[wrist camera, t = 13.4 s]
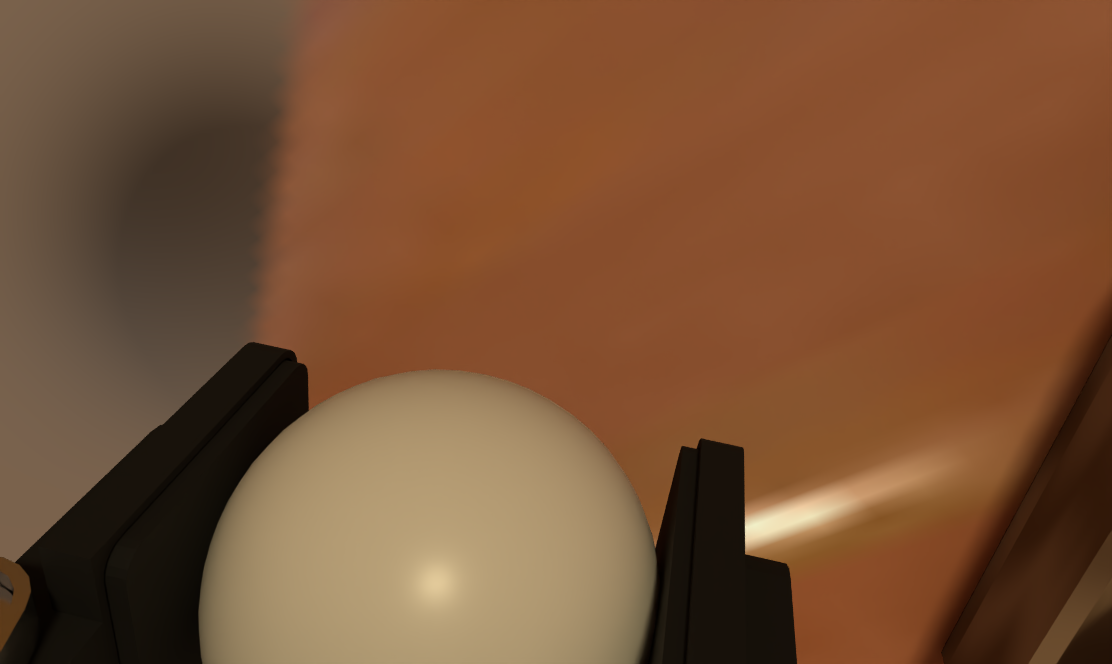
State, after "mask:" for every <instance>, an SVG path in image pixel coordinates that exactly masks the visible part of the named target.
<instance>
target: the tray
mask: <svg viewBox="0 0 1112 664" xmlns="http://www.w3.org/2000/svg"><path fill="white" fill-rule="evenodd" d="M941 653H942V657H943V660H944V664H1112V336H1111V338H1110V340H1109V341H1108V343H1107V345H1106V347H1105V349H1104V351H1103V353H1102V355H1101V356H1100V358H1099V360H1098V362H1097V364H1096V366H1095V368H1094V369H1093V371H1092V373H1091V375H1090V377H1089V379H1088V381H1087V382H1086V384H1085V386H1084V388H1083V390H1082V392H1081V394H1080V395H1079V397H1078V399H1077V401H1076V403H1075V405H1074V407H1073V408H1072V410H1071V412H1070V414H1069V416H1068V418H1067V420H1066V421H1065V423H1064V425H1063V427H1062V429H1061V431H1060V433H1059V434H1058V436H1057V438H1056V440H1055V442H1054V444H1053V446H1052V447H1051V449H1050V451H1049V453H1048V455H1047V457H1046V459H1045V460H1044V462H1043V464H1042V466H1041V468H1040V470H1039V472H1038V473H1037V475H1036V477H1035V479H1034V481H1033V483H1032V485H1031V487H1030V488H1029V490H1028V492H1027V494H1026V496H1025V498H1024V500H1023V501H1022V503H1021V505H1020V507H1019V509H1018V511H1017V513H1016V514H1015V516H1014V518H1013V520H1012V522H1011V524H1010V526H1009V527H1008V529H1007V531H1006V533H1005V535H1004V537H1003V539H1002V540H1001V542H1000V544H999V546H998V548H997V550H996V552H995V553H994V555H993V557H992V559H991V561H990V563H989V565H988V566H987V568H986V570H985V572H984V574H983V576H982V578H981V579H980V581H979V583H978V585H977V587H976V589H975V591H974V592H973V594H972V596H971V598H970V600H969V602H968V604H967V605H966V607H965V609H964V611H963V613H962V615H961V617H960V619H959V620H958V622H957V624H956V626H955V628H954V630H953V632H952V633H951V635H950V637H949V639H948V641H947V643H946V645H945V646H944V648H943V650H942V652H941Z"/></svg>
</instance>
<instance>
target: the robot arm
mask: <svg viewBox="0 0 1112 664" xmlns="http://www.w3.org/2000/svg"><path fill="white" fill-rule="evenodd" d="M308 411H309V402H308V371H307V368H306V366H305V365H304V364H301V363H297V358H296V355H295V353H294V352H293V351H291V350H288V349H283V348H278V347H274V346H269V345H264V344H260V343H255V342H251V343H248V344H247V345H245V346H244V347H243V348H242V349H241V350H240V351H239V352H238V353H237V354H235V355H234V356H233V357H232V358H231V359H230V360H229V361H228V362H227V363H226V364H225V365H224V366H223V367H222V368H221V369H220V370H219V371H218V372H217V373H216V374H215V375H214V376H213V377H212V378H211V379H210V380H209V381H208V382H207V383H206V384H205V385H203V386H202V387H201V388H200V389H199V390H198V391H197V392H196V393H195V394H194V395H193V396H192V397H191V398H190V399H189V400H188V401H187V402H186V403H185V404H184V405H183V406H182V407H181V408H180V409H179V410H178V411H177V412H176V413H175V414H174V415H172V416H171V417H170V418H169V419H168V420H167V421H166V422H165V423H164V424H163V425H160V426H158V427H157V428H156V429H154V430H153V431H151V432H150V433H149V434H148V435H147V436H146V437H145V438H144V439H143V440H142V441H141V442H140V443H139V444H138V445H137V446H136V447H135V448H134V449H132V451H130V452H129V453H128V454H127V455H126V456H125V457H124V458H123V459H122V460H121V461H120V462H119V463H118V464H117V465H116V466H115V467H114V468H113V469H112V470H111V471H110V472H109V473H108V474H107V475H105V476H104V477H103V478H102V479H101V480H100V481H99V482H98V483H97V484H96V485H95V486H94V487H93V488H92V489H91V490H90V491H89V492H88V493H87V494H86V495H85V496H84V497H83V498H81V499H80V500H79V501H78V502H77V503H76V504H75V505H74V506H73V507H72V508H71V509H70V510H69V511H68V512H67V513H66V514H65V515H64V516H63V517H62V518H61V519H60V520H59V521H57V522H56V523H55V524H54V525H53V526H52V527H51V528H50V529H49V530H48V531H47V532H46V533H45V534H44V535H43V536H42V537H41V538H40V539H39V540H38V541H37V542H36V543H35V544H34V545H33V546H31V547H30V549H28V550H27V551H26V552H25V553H24V554H23V555H22V556H21V557H20V558H19V559H18V560H17V561H16V562H15V563H14V562H12V561H10V560H8V559H6V558H4V557H0V664H202V659H201V650H200V638H199V616H198V611H199V601H200V590H201V583H202V576H203V570H204V565H205V562H206V558H207V554H208V550H209V547H210V543H211V540H212V538H213V535H214V532H215V529H216V527H217V524H218V522H219V520H220V517H221V515H222V513H223V511H224V509H225V506H226V504H227V502H228V500H229V499H230V497H231V495H232V494H233V492H234V490H235V489H236V487H237V485H238V484H239V482H240V481H241V479H242V478H243V476H244V475H245V473H246V472H247V470H248V469H249V468H250V466H251V465H252V463H253V462H254V461H255V460H256V459H257V458H258V456H259V455H260V454H261V453H262V452H263V451H264V450H265V449H266V448H267V446H268V445H269V444H270V443H271V442H272V441H273V440H274V439H275V438H276V437H277V436H278V435H279V434H280V433H281V432H282V431H283V430H284V429H286V428H287V427H288V426H289V425H291V424H292V423H293V422H295V421H296V420H297V419H298V418H300V417H301V416H302V415H304V414H305V413H307V412H308ZM655 552H656V557H657V563H658V569H659V575H660V592H659V602H658V610H657V617H656V624H655V630H654V635H653V640H652V646H651V651H650V657H649V662H648V664H797V658H796V644H795V631H794V617H793V604H792V590H791V578H790V571H789V568H788V566H787V564H785V563H781V562H777V561H772V560H768V559H763V558H759V557H755V556H750V555H746V554H745V498H744V449H743V448H742V447H738V446H734V445H729V444H724V443H720V442H715V441H710V440H706V439H700V440H699V443H698V446H697V449H694V448H689V447H685V446H682V447H681V450H680V453H679V457H678V461H677V465H676V469H675V473H674V477H673V481H672V485H671V489H670V493H669V497H668V501H667V505H666V509H665V513H664V517H663V520H662V524H661V528H660V532H659V536H658V540H657V544H656V548H655Z"/></svg>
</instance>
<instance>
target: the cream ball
mask: <svg viewBox="0 0 1112 664" xmlns="http://www.w3.org/2000/svg"><path fill="white" fill-rule="evenodd" d="M659 592H660V575H659V569H658V563H657V557H656V552H655V546H654V541H653V536H652V533H651V530H650V527H649V524H648V522H647V519H646V516H645V513H644V511H643V508H642V505H641V503H640V500H639V498H638V496H637V494H636V492H635V490H634V488H633V486H632V484H631V482H630V481H629V479H628V477H627V475H626V474H625V473H624V471H623V470H622V468H621V467H620V465H619V464H618V463H617V461H616V460H615V458H614V457H613V456H612V454H611V453H610V451H609V450H608V449H607V447H606V446H605V445H604V444H603V443H602V442H601V441H600V440H599V439H598V438H597V437H596V435H595V434H594V433H593V432H592V431H591V430H590V429H589V428H587V427H586V426H585V425H584V424H583V423H581V422H580V421H579V420H578V419H577V418H576V417H574V416H573V415H572V414H570V413H569V412H567V411H566V410H564V409H563V408H561V407H560V406H558V405H557V404H556V403H554V402H553V401H551V400H549V399H548V398H546V397H544V396H542V395H540V394H538V393H536V392H534V391H532V390H530V389H528V388H525V387H523V386H520V385H518V384H515V383H513V382H510V381H507V380H503V379H500V378H496V377H492V376H489V375H484V374H479V373H472V372H466V371H459V370H436V369H435V370H422V371H411V372H406V373H400V374H395V375H391V376H386V377H381V378H376V379H373V380H371V381H368V382H365V383H362V384H360V385H357V386H354V387H352V388H350V389H347V390H345V391H343V392H341V393H338V394H336V395H335V396H333V397H331V398H329V399H327V400H325V401H323V402H322V403H320V404H318V405H316V406H315V407H314V408H312V409H311V410H309V411H308V412H307V413H305V414H304V415H302V416H301V417H300V418H298V419H297V420H296V421H295V422H293V423H292V424H291V425H289V426H288V427H287V428H286V429H284V430H283V431H282V432H281V433H280V434H279V435H278V436H277V437H276V438H275V439H274V440H273V441H272V442H271V443H270V444H269V445H268V446H267V448H266V449H265V450H264V451H263V452H262V453H261V454H260V455H259V456H258V458H257V459H256V460H255V461H254V462H253V463H252V465H251V466H250V468H249V469H248V470H247V472H246V473H245V475H244V476H243V478H242V479H241V481H240V482H239V484H238V485H237V487H236V489H235V490H234V492H233V494H232V495H231V497H230V499H229V500H228V502H227V504H226V506H225V509H224V511H223V513H222V515H221V517H220V520H219V522H218V524H217V527H216V529H215V532H214V535H213V538H212V540H211V543H210V547H209V550H208V554H207V558H206V562H205V565H204V570H203V576H202V583H201V590H200V601H199V611H198V616H199V638H200V650H201V659H202V664H648V662H649V657H650V651H651V646H652V640H653V635H654V630H655V624H656V617H657V610H658V602H659Z"/></svg>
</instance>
